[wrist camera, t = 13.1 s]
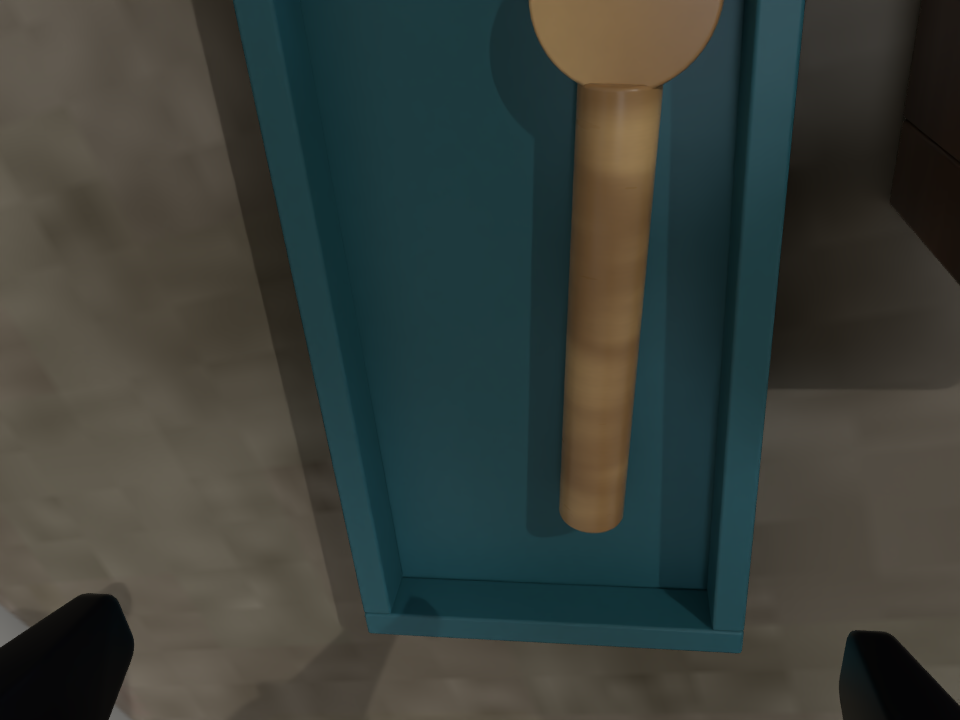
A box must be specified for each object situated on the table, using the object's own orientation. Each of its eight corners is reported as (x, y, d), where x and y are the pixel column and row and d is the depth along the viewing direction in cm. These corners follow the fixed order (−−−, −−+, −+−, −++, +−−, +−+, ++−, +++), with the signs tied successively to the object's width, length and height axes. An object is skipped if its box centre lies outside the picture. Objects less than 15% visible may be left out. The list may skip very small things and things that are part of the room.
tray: (732, 595, 23) (742, 655, 21) (385, 580, 25) (368, 634, 23) (810, -308, 13) (839, -338, 12) (229, -231, 15) (176, -246, 13)
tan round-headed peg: (662, 503, 21) (738, -120, 14) (657, 545, 20) (739, -122, 13) (530, 483, 22) (543, -117, 15) (517, 523, 20) (524, -117, 14)
